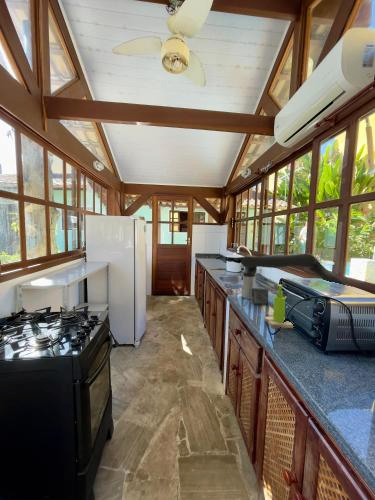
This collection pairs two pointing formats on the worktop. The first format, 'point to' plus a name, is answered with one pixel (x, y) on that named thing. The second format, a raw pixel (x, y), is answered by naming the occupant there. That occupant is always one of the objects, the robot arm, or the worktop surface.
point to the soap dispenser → (279, 306)
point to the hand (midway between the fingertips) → (295, 298)
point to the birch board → (277, 323)
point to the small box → (260, 296)
